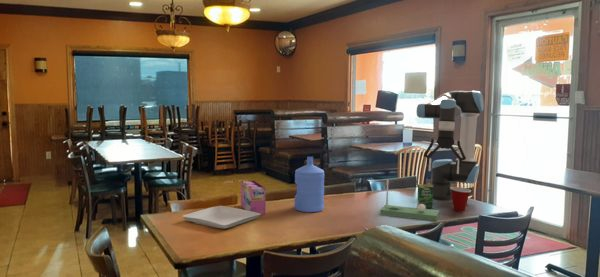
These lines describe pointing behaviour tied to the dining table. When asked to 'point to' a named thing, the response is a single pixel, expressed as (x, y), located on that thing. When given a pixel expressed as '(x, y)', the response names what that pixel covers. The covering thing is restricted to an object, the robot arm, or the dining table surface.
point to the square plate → (221, 217)
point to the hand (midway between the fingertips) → (443, 172)
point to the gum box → (253, 197)
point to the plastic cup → (459, 198)
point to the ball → (421, 208)
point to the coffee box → (425, 195)
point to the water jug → (309, 188)
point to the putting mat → (409, 212)
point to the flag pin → (387, 193)
